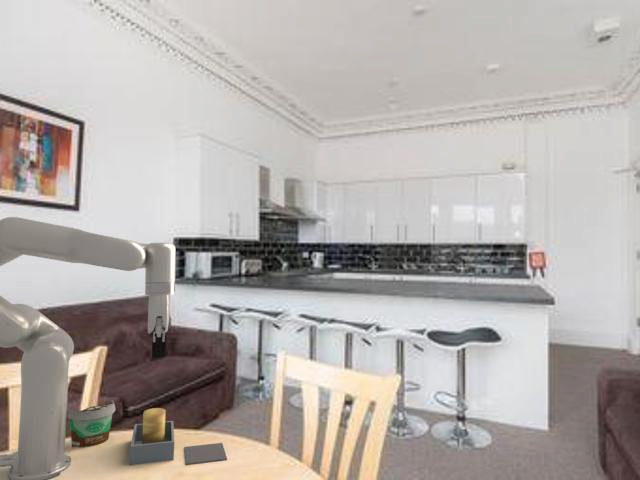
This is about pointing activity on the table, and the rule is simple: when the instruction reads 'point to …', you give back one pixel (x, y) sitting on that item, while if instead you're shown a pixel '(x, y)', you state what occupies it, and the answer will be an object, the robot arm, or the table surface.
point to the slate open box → (152, 446)
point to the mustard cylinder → (153, 425)
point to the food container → (91, 425)
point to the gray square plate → (205, 453)
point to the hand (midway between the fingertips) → (159, 353)
